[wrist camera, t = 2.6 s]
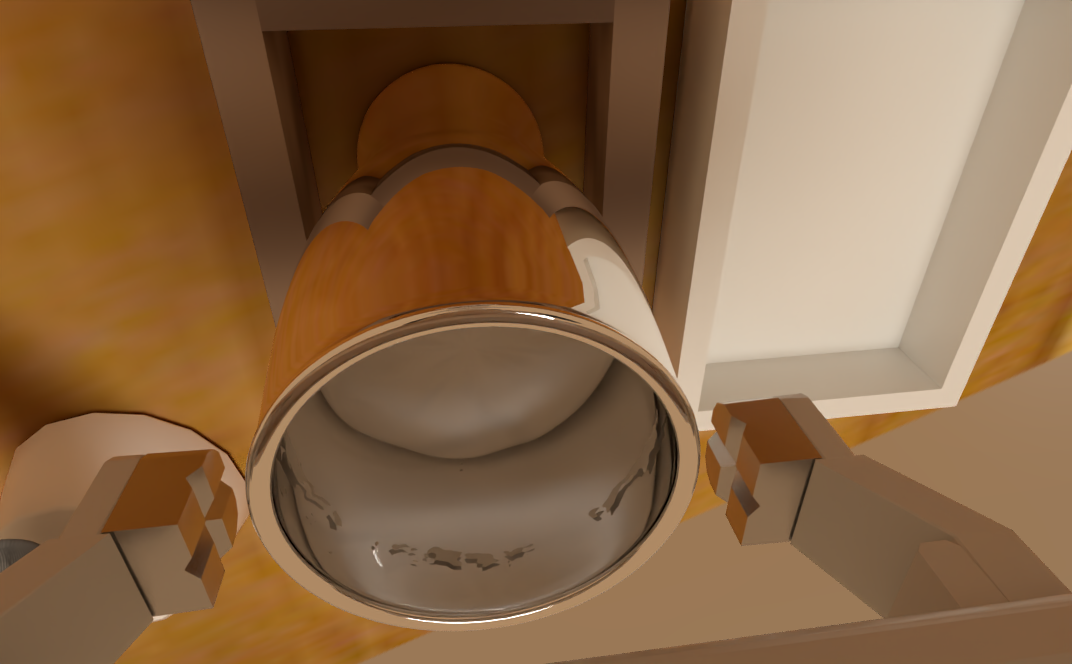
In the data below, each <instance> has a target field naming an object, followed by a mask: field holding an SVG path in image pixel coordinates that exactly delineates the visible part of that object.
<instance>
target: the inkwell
mask: <svg viewBox="0 0 1072 664" xmlns="http://www.w3.org/2000/svg"><path fill="white" fill-rule="evenodd" d="M206 449H214V450H216V451H218V452H219V453H220V456H221V458H222V461H223V463H224V466H225V469H224V472H223V475H222V478H221V481H223V482H224V483H225V484H227V485H228V486H230V487H231V488H232V489H233V492H234V495H235V498H236V502H237V509H238V522H237V533H236V536H237V534H238V532H239V531H240V529H241V527H242V526H243V524H244V522H245V521H246V519H247V517H248V516H249V509H248V505H247V499H246V489H245V481H244V479H243V478H242V476H241V474H240V473H239V471H238V470H237V468H236V467H235V465H234V464H233V462H232V461H231V459H230V458H229V456H228V455H227V453H225V452H224V451H222V450H221V449H219V448H218V447H216V446H215V445H213V444H212V443H210V442H209V441H207V440H206V439H204V438H203V437H201V436H200V435H198V434H197V433H195V432H194V431H193V430H191V429H188V428H185V427H182V426H179V425H176V424H173V423H169V422H166V421H163V420H160V419H157V418H154V417H151V416H148V415H145V414H121V413H96V412H95V413H91V414H87V415H83V416H79V417H75V418H71V419H67V420H63V421H59V422H55V423H51V424H47V425H45V426H44V427H42V428H41V429H40V430H39V431H37V432H36V433H35V434H34V435H32V436H31V437H30V438H29V439H27V440H26V441H25V442H24V443H22V444H21V445H20V446H18V447H17V448H16V450H15V453H14V456H13V459H12V461H11V464H10V467H9V470H8V473H7V476H6V479H5V482H4V486H3V489H2V492H1V496H0V573H1V572H2V571H4V570H5V569H7V568H8V567H9V566H11V565H12V564H14V563H15V562H17V561H18V560H19V559H21V558H22V557H24V556H25V555H27V554H28V553H29V552H31V551H32V550H34V549H35V548H37V547H38V546H39V545H41V544H42V543H44V542H45V541H47V540H50V539H59V537H60V535H61V534H62V532H63V530H64V529H65V527H66V525H67V524H68V522H69V520H70V519H71V517H72V515H73V514H74V512H75V510H76V509H77V507H78V505H79V504H80V502H81V500H82V499H83V497H84V495H85V494H86V492H87V490H88V489H89V487H90V485H91V484H92V482H93V480H94V479H95V477H96V475H97V474H98V472H99V470H100V469H101V467H102V465H103V464H104V463H105V462H106V461H107V460H109V459H110V458H112V457H115V456H129V455H146V454H149V453H163V452H177V451H192V450H206ZM236 536H235V538H236ZM223 556H224V555H223ZM223 556H222V557H223ZM222 557H221V558H222ZM221 558H220V559H221ZM171 615H172V614H169V615H162V616H155V617H153V619H154V620H153V621H152V622H156V621H160V620H164V619H166V618H168V617H169V616H171ZM152 622H151V623H152Z"/></svg>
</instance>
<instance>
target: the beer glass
mask: <svg viewBox="0 0 1072 664" xmlns="http://www.w3.org/2000/svg"><path fill="white" fill-rule="evenodd" d="M357 165H358V170H357V171H356V172H355V174H354V175H353V176H352V177H351V178H350V179H349V180H348V181H347V182H346V183H345V184H344V186H343V187H342V188H341V189H340V190H339V192H338V193H337V194H336V196H335V197H334V199H333V200H332V201H331V203H330V204H329V206H328V207H327V209H326V210H325V211H324V213H323V214H322V216H321V217H320V219H319V220H318V222H317V223H316V225H315V226H314V228H313V230H312V232H311V234H310V236H309V238H308V240H307V242H306V244H305V247H304V249H303V251H302V254H301V256H300V258H299V261H298V263H297V265H296V268H295V270H294V272H293V275H292V277H291V280H290V283H289V286H288V289H287V292H286V296H285V299H284V303H283V306H282V310H281V313H280V317H279V320H278V324H277V328H276V331H275V336H274V340H273V345H272V350H271V355H270V360H269V365H268V370H267V375H266V380H265V386H264V392H263V398H262V404H261V410H260V416H259V421H258V426H257V430H256V432H255V434H254V437H253V440H252V443H251V446H250V449H249V453H248V458H247V463H246V472H245V489H246V499H247V505H248V509H249V513H250V517H251V520H252V523H253V525H254V528H255V530H256V532H257V534H258V536H259V538H260V540H261V542H262V543H263V545H264V547H265V548H266V549H267V551H268V552H269V554H270V555H271V556H272V558H273V559H274V560H275V561H276V563H277V564H278V565H279V566H280V567H281V568H282V569H283V570H284V571H285V572H286V573H287V574H288V575H289V576H290V577H291V578H292V579H293V580H295V581H296V582H297V583H298V584H299V585H301V586H302V587H303V588H305V589H306V590H308V591H309V592H311V593H312V594H314V595H315V596H317V597H319V598H320V599H322V600H324V601H326V602H328V603H329V604H331V605H333V606H335V607H338V608H340V609H342V610H344V611H347V612H349V613H352V614H355V615H357V616H360V617H363V618H366V619H370V620H373V621H376V622H380V623H384V624H389V625H394V626H399V627H405V628H412V629H421V630H433V631H471V630H484V629H492V628H499V627H505V626H511V625H516V624H521V623H525V622H530V621H533V620H537V619H541V618H544V617H547V616H550V615H553V614H556V613H559V612H562V611H564V610H567V609H570V608H572V607H575V606H577V605H579V604H581V603H584V602H585V601H588V600H590V599H592V598H594V597H596V596H598V595H599V594H601V593H603V592H605V591H606V590H608V589H610V588H611V587H613V586H615V585H616V584H618V583H619V582H621V581H622V580H624V579H625V578H626V577H628V576H629V575H630V574H632V573H633V572H635V571H636V570H637V569H638V568H639V567H641V566H642V565H643V564H644V563H645V562H646V561H647V560H649V559H650V558H651V557H652V556H653V555H654V554H655V552H657V550H658V549H659V548H660V547H661V546H662V545H663V544H664V543H665V541H666V540H667V539H668V538H669V537H670V535H671V534H672V532H673V531H674V530H675V528H676V527H677V525H678V524H679V522H680V520H681V519H682V517H683V515H684V513H685V511H686V509H687V507H688V505H689V503H690V500H691V498H692V495H693V492H694V489H695V486H696V482H697V478H698V473H699V466H700V439H699V432H698V427H697V423H696V419H695V415H694V413H693V410H692V407H691V405H690V403H689V400H688V399H687V397H686V395H685V393H684V391H683V390H682V388H681V386H680V385H679V382H678V379H677V377H676V374H675V372H674V369H673V366H672V363H671V360H670V358H669V355H668V352H667V349H666V346H665V343H664V341H663V338H662V335H661V332H660V330H659V327H658V325H657V322H656V320H655V317H654V315H653V312H652V310H651V307H650V304H649V302H648V300H647V297H646V295H645V293H644V291H643V289H642V286H641V284H640V282H639V280H638V278H637V276H636V274H635V272H634V270H633V268H632V266H631V264H630V261H629V259H628V257H627V255H626V254H625V252H624V250H623V248H622V247H621V245H620V244H619V242H618V240H617V239H616V237H615V236H614V234H613V233H612V231H611V229H610V228H609V226H608V225H607V223H606V222H605V220H604V219H603V217H602V215H601V214H600V213H599V211H598V210H597V209H596V207H595V206H594V205H593V204H592V203H591V201H590V200H589V199H588V198H587V197H586V196H585V195H584V194H583V193H582V192H581V191H580V190H579V189H578V188H577V187H576V186H575V185H574V184H573V182H572V181H571V180H570V179H569V178H568V177H567V176H566V175H565V174H564V173H562V172H561V171H560V170H559V169H558V168H557V167H555V166H554V165H553V164H552V163H550V162H549V161H548V160H547V159H545V158H544V150H543V143H542V138H541V134H540V131H539V128H538V125H537V122H536V120H535V118H534V116H533V114H532V112H531V110H530V109H529V107H528V106H527V104H526V103H525V102H524V100H523V99H522V98H521V97H520V96H519V94H518V93H517V92H516V91H515V90H514V89H512V88H511V87H510V86H509V85H508V84H506V83H505V82H504V81H502V80H501V79H499V78H498V77H496V76H494V75H492V74H490V73H488V72H486V71H483V70H481V69H478V68H475V67H471V66H466V65H460V64H436V65H430V66H426V67H422V68H419V69H416V70H414V71H411V72H409V73H407V74H405V75H403V76H401V77H400V78H398V79H396V80H395V81H394V82H392V83H391V84H390V85H388V86H387V87H386V88H385V89H384V90H383V91H382V92H381V93H380V94H379V95H378V96H377V97H376V99H375V100H374V101H373V103H372V104H371V106H370V107H369V109H368V111H367V113H366V115H365V117H364V119H363V122H362V125H361V128H360V132H359V137H358V144H357Z"/></svg>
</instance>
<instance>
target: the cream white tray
mask: <svg viewBox="0 0 1072 664" xmlns="http://www.w3.org/2000/svg"><path fill="white" fill-rule="evenodd" d="M1071 150H1072V0H687V2H686V11H685V20H684V29H683V38H682V47H681V56H680V65H679V74H678V83H677V92H676V101H675V110H674V119H673V128H672V137H671V146H670V155H669V164H668V173H667V182H666V191H665V200H664V209H663V218H662V227H661V236H660V245H659V254H658V263H657V272H656V281H655V290H654V299H653V308H652V312H653V315H654V317H655V320H656V322H657V325H658V327H659V330H660V332H661V335H662V338H663V341H664V343H665V346H666V349H667V352H668V355H669V358H670V360H671V363H672V366H673V369H674V372H675V374H676V377H677V379H678V382H679V385H680V386H681V388H682V390H683V391H684V393H685V395H686V397H687V399H688V400H689V403H690V405H691V407H692V410H693V413H694V415H695V419H696V423H697V427H698V431H705V430H715V428H714V426H713V424H712V422H711V418H712V413H713V409H714V407H715V405H716V404H717V403H718V402H728V401H738V400H748V399H759V398H769V397H773V396H781V395H790V394H799V393H802V394H804V395H806V396H808V397H809V399H810V400H811V401H812V402H813V404H814V405H815V406H816V407H817V409H818V410H819V411H820V412H821V414H822V415H823V416H824V417H825V419H829V418H839V417H849V416H860V415H870V414H880V413H891V412H901V411H911V410H922V409H932V408H942V407H953V406H956V405H957V403H958V401H959V398H960V396H961V394H962V392H963V389H964V387H965V385H966V383H967V381H968V378H969V376H970V374H971V372H972V370H973V367H974V365H975V363H976V361H977V358H978V356H979V354H980V352H981V350H982V347H983V345H984V343H985V341H986V338H987V336H988V334H989V332H990V330H991V327H992V325H993V323H994V321H995V319H996V316H997V314H998V312H999V310H1000V307H1001V305H1002V303H1003V301H1004V299H1005V296H1006V294H1007V292H1008V290H1009V287H1010V285H1011V283H1012V281H1013V279H1014V276H1015V274H1016V272H1017V270H1018V267H1019V265H1020V263H1021V261H1022V259H1023V256H1024V254H1025V252H1026V250H1027V248H1028V245H1029V243H1030V241H1031V239H1032V236H1033V234H1034V232H1035V230H1036V228H1037V225H1038V223H1039V221H1040V219H1041V216H1042V214H1043V212H1044V210H1045V208H1046V205H1047V203H1048V201H1049V199H1050V196H1051V194H1052V192H1053V190H1054V188H1055V185H1056V183H1057V181H1058V179H1059V177H1060V174H1061V172H1062V170H1063V168H1064V165H1065V163H1066V161H1067V159H1068V157H1069V154H1070V152H1071Z"/></svg>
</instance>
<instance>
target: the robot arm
mask: <svg viewBox="0 0 1072 664" xmlns="http://www.w3.org/2000/svg"><path fill="white" fill-rule="evenodd" d="M711 422H712V424H713V426H714V428H715V430H716V431H717V432H716V433H715V434H714V435H713V436H712V437H711V438H710V439H709V440H708V441H707V448H706V455H705V458H706V468H707V474H708V477H709V481H710V484H711V486H712V488H713V490H714V492H715V494H716V495H717V496H718V497H720V498H721V499H723V500H724V501H726V502H728V505H727V510H726V516H727V519H728V520H729V523H730V525H731V526H732V528H733V530H734V532H735V534H736V536H737V538H738V540H739V542H740V544H741V546H744V545H756V544H767V543H778V542H789V541H791V543H790V544H791V545H793V546H794V547H795V548H796V549H798V550H799V551H800V552H801V553H803V554H804V555H805V556H806V557H808V558H809V559H810V560H811V561H813V562H814V563H815V564H816V565H818V566H819V567H820V568H821V569H823V570H824V571H825V572H826V573H828V574H829V575H830V576H832V577H833V578H834V579H835V580H836V581H838V582H839V583H840V584H842V585H843V586H844V587H845V588H847V589H848V590H849V591H850V592H852V593H853V594H854V595H855V596H857V597H858V598H859V599H860V600H862V601H863V602H864V603H865V604H867V605H868V606H869V607H871V608H872V609H873V610H874V611H875V612H877V613H878V614H879V615H880V616H882V617H883V619H876V620H869V621H861V622H854V623H846V624H839V625H831V626H824V627H816V628H809V629H801V630H795V631H786V632H779V633H772V634H764V635H756V636H749V637H742V638H735V639H727V640H719V641H712V642H705V643H697V644H689V645H682V646H674V647H668V648H660V649H652V650H645V651H638V652H630V653H622V654H616V655H608V656H601V657H593V658H586V659H578V660H570V661H564V662H555V663H548V664H1072V593H1071V591H1069V589H1068V588H1067V587H1066V586H1065V585H1064V584H1063V583H1062V582H1061V581H1060V580H1059V579H1058V578H1057V577H1056V576H1055V575H1054V574H1053V572H1052V571H1051V570H1050V569H1049V568H1048V567H1047V566H1046V565H1045V564H1044V563H1043V562H1042V561H1041V560H1040V559H1039V558H1038V557H1037V555H1035V553H1033V551H1032V550H1031V549H1030V548H1029V547H1028V546H1027V545H1026V544H1025V543H1024V542H1023V541H1022V540H1021V539H1020V538H1019V537H1018V535H1017V534H1016V533H1015V532H1014V531H1013V530H1011V529H1009V528H1007V527H1005V526H1003V525H1001V524H999V523H997V522H995V521H993V520H991V519H989V518H987V517H986V516H984V515H982V514H980V513H977V512H976V511H974V510H972V509H970V508H968V507H966V506H964V505H962V504H960V503H958V502H956V501H954V500H952V499H950V498H948V497H946V496H944V495H942V494H940V493H938V492H936V491H934V490H932V489H930V488H928V487H926V486H924V485H922V484H920V483H918V482H916V481H914V480H912V479H910V478H908V477H906V476H904V475H902V474H901V473H898V472H897V471H894V470H893V469H890V468H889V467H887V466H885V465H883V464H881V463H879V462H877V461H875V460H873V459H871V458H869V457H867V456H865V455H856V456H855V455H854V454H853V452H852V451H851V450H850V449H849V447H848V446H847V445H846V444H845V442H844V441H843V440H842V439H841V437H840V436H839V435H838V434H837V432H836V431H835V430H834V429H833V427H832V426H831V425H830V424H829V422H828V421H827V420H826V419H825V417H824V416H823V415H822V414H821V412H820V411H819V410H818V409H817V407H816V406H815V405H814V404H813V402H812V401H811V400H810V399H809V397H808V396H806V395H804V394H802V393H799V394H790V395H781V396H773V397H769V398H759V399H748V400H738V401H728V402H718V403H717V404H716V405H715V407H714V409H713V413H712V418H711ZM224 469H225V466H224V463H223V461H222V458H221V456H220V453H219V452H218V451H216V450H214V449H206V450H192V451H177V452H163V453H149V454H146V455H129V456H115V457H112V458H110V459H109V460H107V461H106V462H105V463H104V464H103V465H102V467H101V469H100V470H99V472H98V474H97V475H96V477H95V479H94V480H93V482H92V484H91V485H90V487H89V489H88V490H87V492H86V494H85V495H84V497H83V499H82V500H81V502H80V504H79V505H78V507H77V509H76V510H75V512H74V514H73V515H72V517H71V519H70V520H69V522H68V524H67V525H66V527H65V529H64V530H63V532H62V534H61V535H60V537H59V539H50V540H47V541H45V542H44V543H42V544H41V545H39V546H38V547H37V548H35V549H34V550H32V551H31V552H29V553H28V554H27V555H25V556H24V557H22V558H21V559H19V560H18V561H17V562H15V563H14V564H12V565H11V566H9V567H8V568H7V569H5V570H4V571H2V572H1V573H0V664H114V663H115V661H116V660H117V659H118V658H119V657H120V656H121V655H122V654H123V653H124V652H125V651H126V650H127V648H128V647H129V646H130V645H131V644H132V643H133V642H134V641H135V640H136V639H137V638H138V636H139V635H140V634H141V633H142V632H143V631H144V630H145V629H146V628H147V627H148V626H149V625H150V623H151V622H152V621H153V620H154V619H153V617H155V616H162V615H169V614H176V613H183V612H190V611H196V610H203V609H210V608H213V607H214V604H215V601H216V598H217V594H218V591H219V588H220V585H221V582H222V579H223V576H224V572H225V570H224V567H223V564H222V562H221V559H220V558H221V557H222V556H223V555H224V554H225V553H227V552H228V551H229V550H230V549H231V548H232V547H233V543H234V540H235V536H236V533H237V522H238V509H237V502H236V498H235V495H234V492H233V489H232V488H231V487H230V486H228V485H227V484H225V483H224V482H223V481H221V478H222V475H223V472H224Z"/></svg>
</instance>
